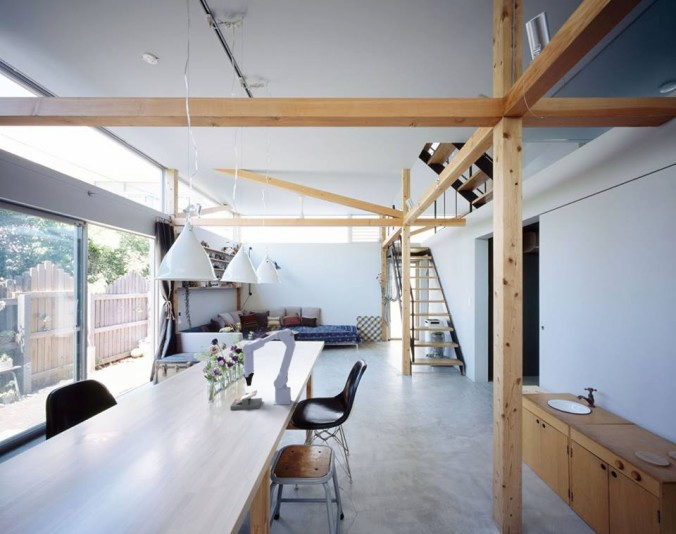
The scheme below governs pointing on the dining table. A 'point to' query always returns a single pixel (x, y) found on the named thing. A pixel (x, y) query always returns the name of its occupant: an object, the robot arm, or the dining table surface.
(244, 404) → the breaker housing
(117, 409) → the dining table surface
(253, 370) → the robot arm
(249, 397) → the block
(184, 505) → the dining table surface
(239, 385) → the dining table surface
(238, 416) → the dining table surface
